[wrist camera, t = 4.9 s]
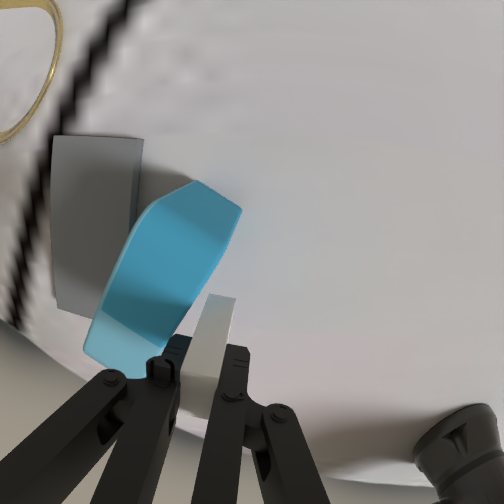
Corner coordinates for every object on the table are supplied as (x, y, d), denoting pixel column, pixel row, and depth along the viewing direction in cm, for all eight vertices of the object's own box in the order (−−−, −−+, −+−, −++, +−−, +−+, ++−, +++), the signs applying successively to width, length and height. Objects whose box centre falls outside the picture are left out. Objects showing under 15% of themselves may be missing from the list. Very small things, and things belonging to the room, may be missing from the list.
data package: (178, 310, 29) (134, 396, 18) (139, 285, 29) (77, 359, 17) (245, 205, 26) (224, 255, 14) (199, 176, 25) (143, 203, 14)
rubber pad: (133, 321, 30) (128, 329, 29) (64, 301, 30) (57, 308, 29) (143, 139, 24) (136, 139, 23) (62, 135, 24) (53, 135, 23)
